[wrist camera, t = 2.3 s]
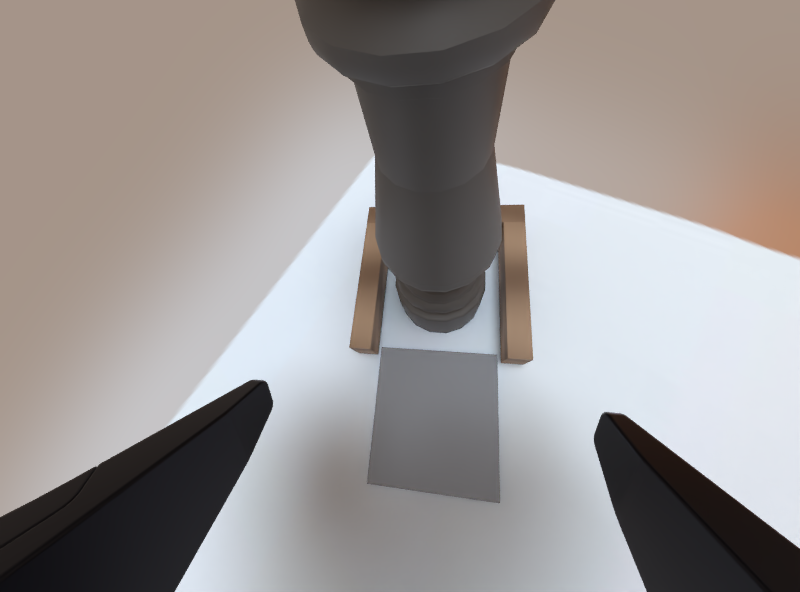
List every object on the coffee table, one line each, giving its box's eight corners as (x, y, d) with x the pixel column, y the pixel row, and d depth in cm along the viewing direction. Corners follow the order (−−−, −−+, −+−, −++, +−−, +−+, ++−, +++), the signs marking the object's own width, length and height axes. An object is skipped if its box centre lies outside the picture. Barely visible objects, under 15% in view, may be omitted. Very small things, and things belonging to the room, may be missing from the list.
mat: (499, 501, 18) (499, 503, 18) (368, 482, 20) (367, 483, 19) (496, 355, 21) (497, 354, 21) (382, 347, 22) (381, 347, 22)
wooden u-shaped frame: (523, 364, 21) (533, 360, 18) (359, 352, 23) (349, 347, 20) (516, 223, 24) (524, 204, 22) (376, 224, 26) (369, 207, 24)
